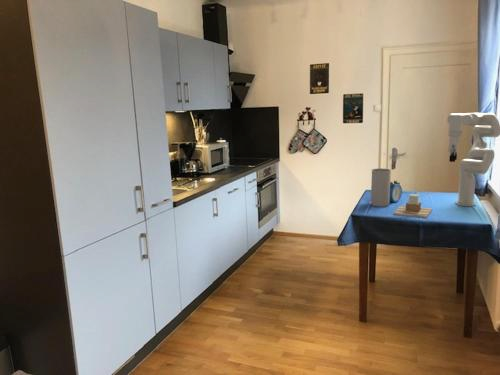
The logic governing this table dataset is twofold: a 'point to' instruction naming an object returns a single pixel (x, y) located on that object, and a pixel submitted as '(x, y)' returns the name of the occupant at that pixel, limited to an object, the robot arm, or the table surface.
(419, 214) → the build board
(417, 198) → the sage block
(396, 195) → the alarm clock
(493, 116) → the robot arm
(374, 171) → the cylinder vase
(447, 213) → the table surface
